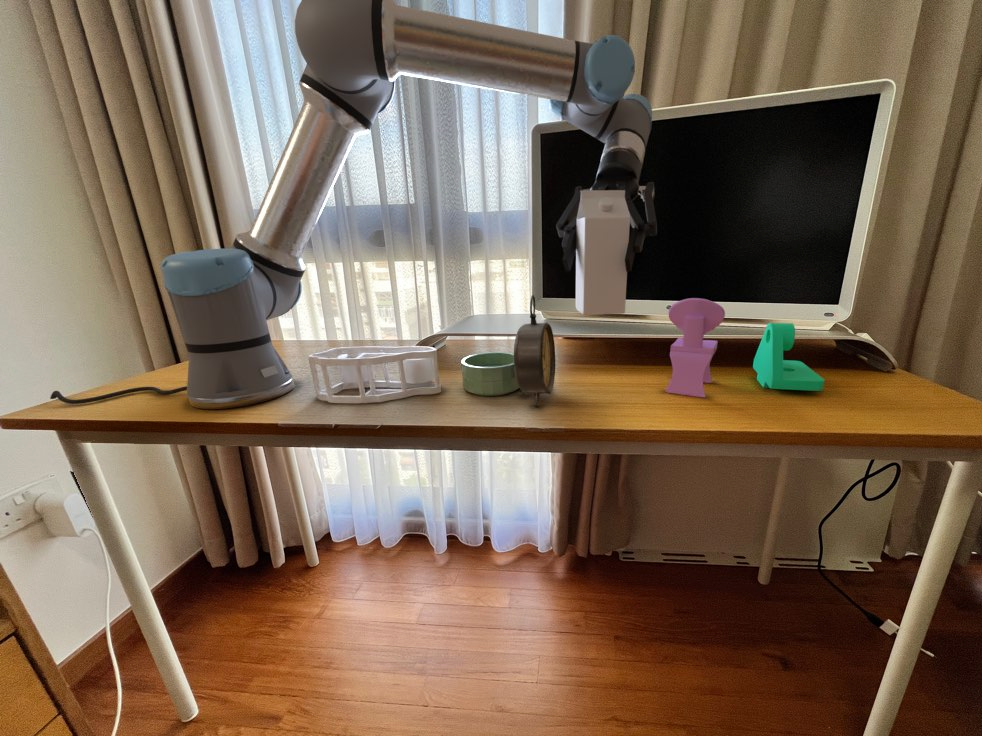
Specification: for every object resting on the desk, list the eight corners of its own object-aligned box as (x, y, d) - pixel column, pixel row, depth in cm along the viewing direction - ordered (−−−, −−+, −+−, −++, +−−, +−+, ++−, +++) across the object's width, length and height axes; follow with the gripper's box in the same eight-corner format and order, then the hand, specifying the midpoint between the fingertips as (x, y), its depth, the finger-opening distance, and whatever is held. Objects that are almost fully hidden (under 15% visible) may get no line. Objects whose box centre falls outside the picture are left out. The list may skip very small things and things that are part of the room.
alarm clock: (545, 411, 64) (543, 300, 58) (510, 409, 65) (504, 299, 59) (557, 387, 74) (556, 290, 68) (526, 386, 75) (523, 290, 69)
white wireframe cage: (449, 382, 78) (445, 342, 75) (429, 404, 67) (424, 359, 65) (344, 381, 79) (336, 342, 77) (309, 403, 69) (299, 359, 66)
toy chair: (718, 382, 74) (730, 293, 69) (712, 398, 67) (725, 300, 61) (670, 376, 78) (677, 292, 72) (658, 391, 71) (666, 298, 65)
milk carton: (575, 309, 77) (576, 192, 70) (613, 308, 78) (618, 192, 71) (583, 316, 71) (585, 188, 64) (625, 314, 71) (631, 187, 64)
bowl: (452, 393, 72) (449, 365, 70) (481, 376, 81) (479, 350, 79) (507, 400, 68) (506, 370, 67) (531, 381, 77) (530, 354, 75)
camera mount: (823, 397, 66) (838, 331, 62) (769, 395, 68) (781, 330, 64) (797, 374, 77) (809, 317, 73) (751, 373, 79) (760, 316, 75)
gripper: (684, 182, 76) (667, 282, 68) (566, 188, 84) (538, 280, 76) (685, 142, 70) (667, 248, 62) (557, 153, 77) (526, 249, 69)
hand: (596, 265), depth 69 cm, fingers closed on milk carton, 9 cm apart
